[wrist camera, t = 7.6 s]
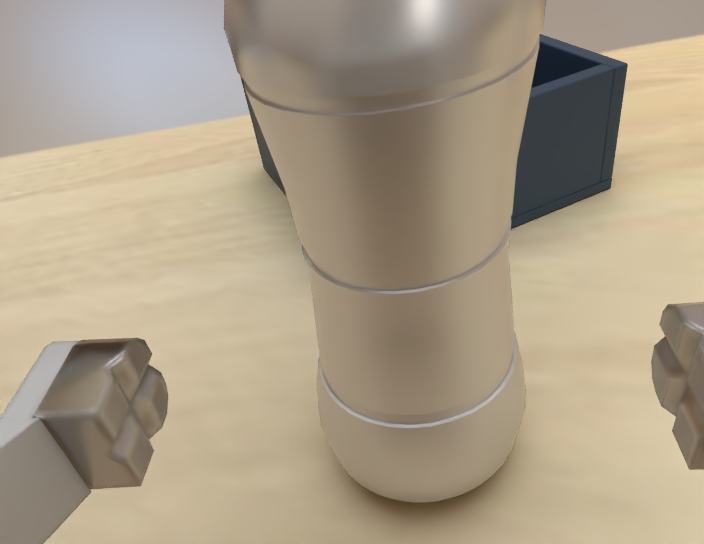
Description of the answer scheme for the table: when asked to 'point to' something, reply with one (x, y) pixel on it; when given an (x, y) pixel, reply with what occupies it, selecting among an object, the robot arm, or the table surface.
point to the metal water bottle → (402, 219)
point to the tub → (553, 130)
